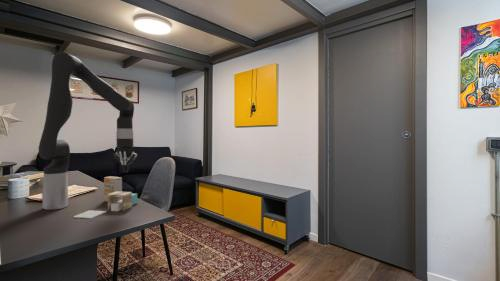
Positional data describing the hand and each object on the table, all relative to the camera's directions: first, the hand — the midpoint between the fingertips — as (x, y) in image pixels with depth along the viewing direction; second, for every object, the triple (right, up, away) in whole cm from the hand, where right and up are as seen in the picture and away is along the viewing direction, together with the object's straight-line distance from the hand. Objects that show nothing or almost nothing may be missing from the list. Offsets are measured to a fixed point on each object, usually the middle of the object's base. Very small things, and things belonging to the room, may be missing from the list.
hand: (125, 172), depth 122 cm
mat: (-9, -18, -13) cm, 24 cm away
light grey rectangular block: (-1, -18, -3) cm, 18 cm away
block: (0, -17, +4) cm, 18 cm away
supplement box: (-11, -17, +9) cm, 23 cm away
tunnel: (-1, -17, -3) cm, 18 cm away
